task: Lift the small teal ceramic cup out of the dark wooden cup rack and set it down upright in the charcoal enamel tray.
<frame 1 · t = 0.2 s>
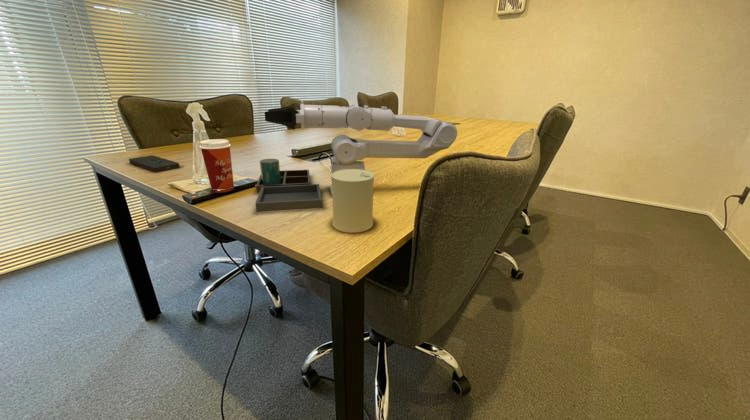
hand: (266, 115, 76), 21 cm above the table, tool horizontal, fingers open, 7 cm apart
paper cup: (223, 191, 87), on the table
can: (352, 224, 69), on the table
cup rack: (285, 184, 93), on the table
smart home device: (154, 165, 109), on the table
teal cup: (272, 187, 89), resting on cup rack
tray: (291, 201, 80), on the table
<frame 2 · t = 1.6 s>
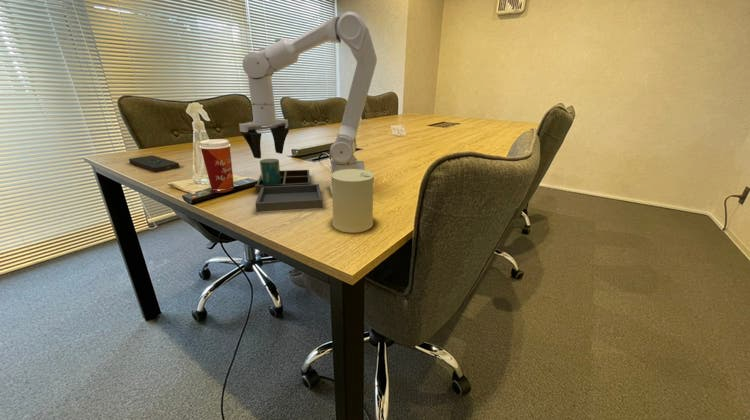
hand: (268, 155, 85), 10 cm above the table, tool pointing down, fingers open, 7 cm apart
nothing on the table moved.
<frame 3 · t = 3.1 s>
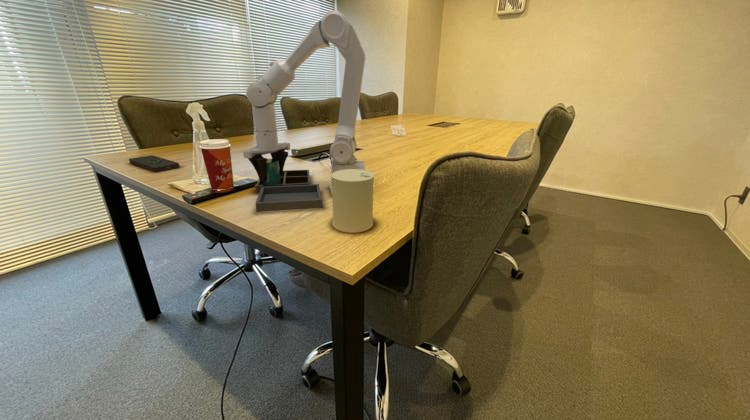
hand: (271, 178, 88), 3 cm above the table, tool pointing down, fingers closed on teal cup, 5 cm apart
teal cup: (272, 187, 89), resting on cup rack, touching gripper
everything else where it was.
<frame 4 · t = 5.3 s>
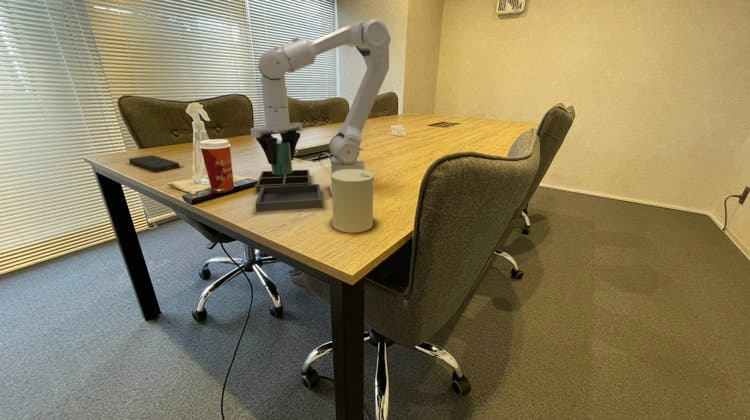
hand: (281, 162, 79), 10 cm above the table, tool pointing down, fingers closed on teal cup, 5 cm apart
teal cup: (282, 172, 80), point 7 cm above the table, touching gripper
everything else where it was.
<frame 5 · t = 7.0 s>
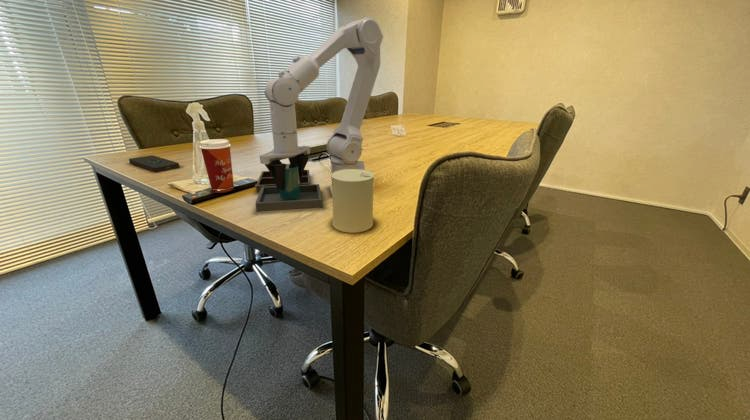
hand: (289, 185, 78), 4 cm above the table, tool pointing down, fingers closed on teal cup, 5 cm apart
teal cup: (290, 196, 79), point 2 cm above the table, touching gripper
everything else where it was.
when the fingers open (3 cm above the table, at t = 7.9 s): teal cup stays where it is, resting on tray.
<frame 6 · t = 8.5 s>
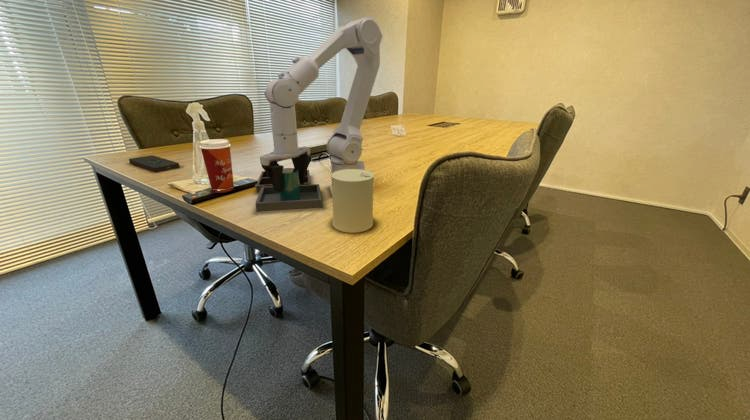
hand: (289, 186, 78), 4 cm above the table, tool pointing down, fingers open, 7 cm apart
teal cup: (290, 200, 80), resting on tray
everything else where it was.
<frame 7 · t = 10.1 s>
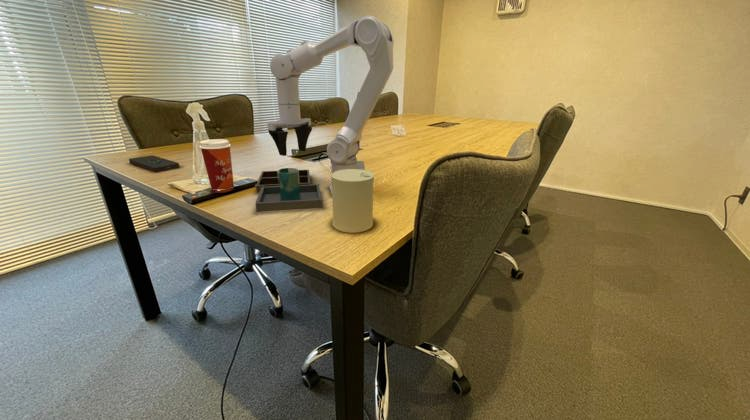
hand: (292, 152, 89), 10 cm above the table, tool pointing down, fingers open, 7 cm apart
nothing on the table moved.
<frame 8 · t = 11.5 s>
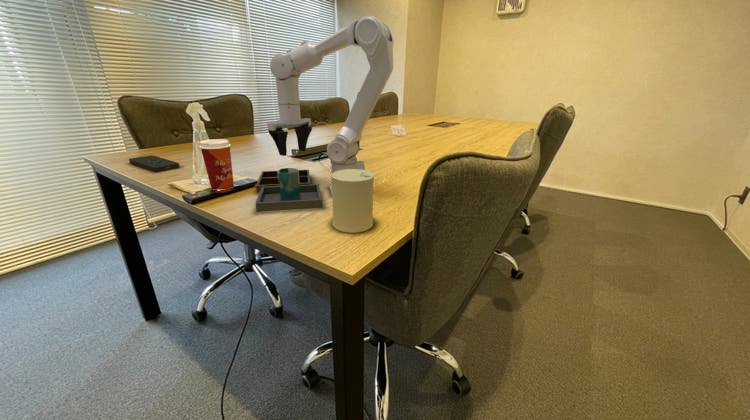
hand: (292, 152, 89), 10 cm above the table, tool pointing down, fingers open, 7 cm apart
nothing on the table moved.
at the end: teal cup inside the target area in the tray (0.1 cm from its centre), point 0.5 cm above the tray's base; teal cup tilted 0°; the gripper is holding nothing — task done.
